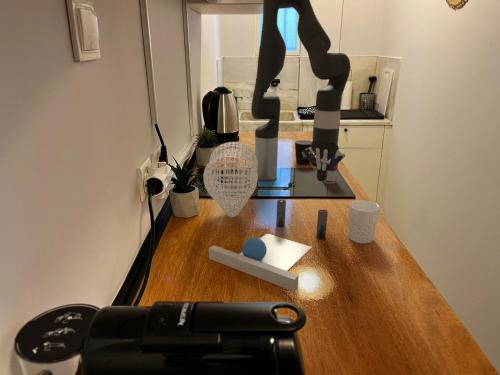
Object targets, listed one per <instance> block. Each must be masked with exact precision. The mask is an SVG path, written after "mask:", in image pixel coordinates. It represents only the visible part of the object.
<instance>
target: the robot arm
mask: <svg viewBox="0 0 500 375" xmlns="http://www.w3.org/2000/svg"><path fill="white" fill-rule="evenodd" d="M290 8H293V9H294V11H296V12H297V15H298V19H297V20H298V22H297V30H296V31H297V36H298V39H299V41H300V43H301V44H302V45H303V47H304V49H305V50H306V52H307V54H308V59H309V62H310V63H309V64H310V68H311V71H312V73H313V75H314V76H315V77H316V78H318V79H319V80H322V81H326V80H328V82H327V84H326V86H324V87H322V88H320V89H318V90H317V92H316V97H315V98H316V99H315V109H314V110H315V111H314V115H313V126H312V127H313V128H312V140H311V141H312V143H311V147H309V148H307V149H305V150H304V153H305V155H306V156H307V158H308V160H309V162H310V165H311V166H312V168H313V167H314V168H316V179H317V181H318V182H321V183H324V182H323V181H325V180H326V179H327V173H328V170H331V169H332V168H334V167H335V166H336V165H337V164H338V165H339V163H340V162H341V161H342V160H343V159H344V158H345V157H346V154H345V153H342V152H341V151H340V150H339V149H340V148H339V144H338V143H339V135H340V126H341V105H342V96H343V94H344V90H345V88H346V85H347V82H348V79H349V77H350V76H349V75H350V73H351V61H350V59H349V57H348V55H347V54H346V53H344V52H329V50H330V49H331V47H332V46H331V45H332V43H331V38H330V37H329V36H328V33H327V32H326V31H325V29H324V28H323V26H322V24H321V23H320V21H319V20H318V18H317V15H316V14H315V11H314V9H313V6H312V3H311V0H263V5H262V24H261V35H260V43H259V49H258V57H257V66H256V67H257V68H256V69H257V70H256V77H255V78H256V79H255V84H254V89H253V95H252V100H251V104H250V105H251V111H250V112H251V115H252V118H254V119H255V120H268V122H266V123H265V124H263V125H261V126H258V127H256V128H255V131H254V153H255V154H256V156H257V161H258V168H257V174H258V180H259V181H272V180H276V179H277V176H278V154H279V151H278V150H279V149H278V148H279V146H278V145H279V129H280V115H281V99H280V97H279V95H278V94H277V95H276V94H265V93H266V91H267V89H268V88H269V87H270V85H271V84H272V83H273V82H274V80H275V79H276V78H277V76H279V75H280V73H281V72H282V70H283V68H284V66H285V65H284V64H285V59H286V54H287V45H286V42H285V40H284V38H283V36H282V33H281V30H280V28H279V26H278V15H279V10H280V9H281V10H282V9H290ZM314 154H315V156H314ZM335 154H336V156H335V158H336V159H335V160H334V161H333V162H332V163H331V164H330V165H329V163H330V160H331V158H332V157H333V156H334V155H335ZM254 156H255V155H254ZM254 159H255V158H254ZM253 161H254V160H253ZM255 166H256V165H255Z"/></svg>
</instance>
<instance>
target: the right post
mask: <svg viewBox="0 0 500 375" xmlns="http://www.w3.org/2000/svg"><path fill="white" fill-rule="evenodd" d="M328 215H329V212H328V210H327V209H318V212H317V222H316V223H317V224H316V232H315V233H316V239H317V240H326V236H327V225H328Z"/></svg>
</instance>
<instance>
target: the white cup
mask: <svg viewBox="0 0 500 375" xmlns="http://www.w3.org/2000/svg"><path fill="white" fill-rule="evenodd" d="M380 208H381V207H380V206H379V205H378V204H377V203H376V202H373V201H369V200H362V199H361V200H359V199H358V200H354V201H351V202H350V203H349V209H348V210H349V212H348V235H347V237H348V239H349V240H350V241H352V242H353V243H357V244H362V245H363V244H364V245H365V244H371V243H372V242H373V240H374V238H375V237H374V236H375V232H376V228H377V224H378V218H379V212H380Z"/></svg>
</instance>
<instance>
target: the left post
mask: <svg viewBox="0 0 500 375" xmlns="http://www.w3.org/2000/svg"><path fill="white" fill-rule="evenodd" d="M286 204H287V201H286V200H285V199H283V198H282V199H277V201H276V218H275V219H276V221H275V222H276V227H277V228H281V229H282V228H285V227H286V211H287V210H286V209H287V208H286V206H287V205H286Z"/></svg>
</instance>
